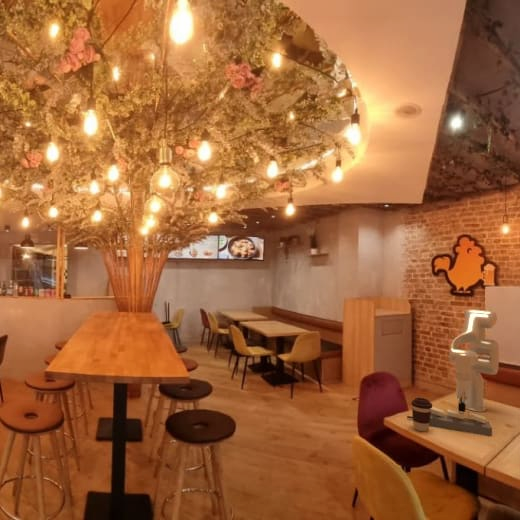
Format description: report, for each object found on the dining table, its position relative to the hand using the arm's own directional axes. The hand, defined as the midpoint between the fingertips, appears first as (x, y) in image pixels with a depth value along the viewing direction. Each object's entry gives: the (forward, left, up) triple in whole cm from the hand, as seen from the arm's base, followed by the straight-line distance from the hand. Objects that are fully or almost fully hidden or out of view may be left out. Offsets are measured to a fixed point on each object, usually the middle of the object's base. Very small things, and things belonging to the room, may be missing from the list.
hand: (461, 410), depth 217 cm
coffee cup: (+14, -20, -8) cm, 26 cm away
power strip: (+2, -7, -8) cm, 11 cm away
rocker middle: (0, -3, -2) cm, 4 cm away
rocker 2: (0, +7, -2) cm, 7 cm away
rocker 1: (0, -13, -2) cm, 13 cm away
